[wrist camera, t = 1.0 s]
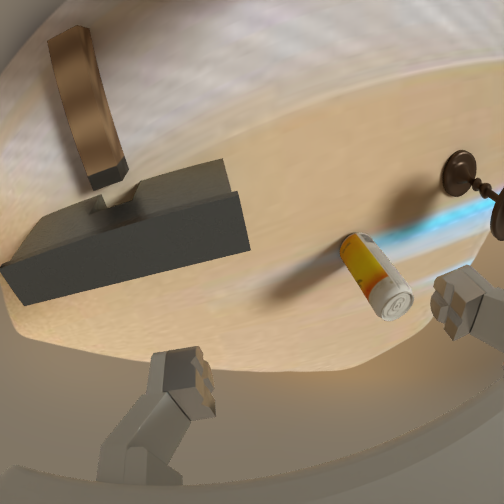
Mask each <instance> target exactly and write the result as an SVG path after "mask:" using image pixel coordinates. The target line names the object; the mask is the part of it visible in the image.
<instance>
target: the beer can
mask: <svg viewBox="0 0 504 504" xmlns="http://www.w3.org/2000/svg"><path fill="white" fill-rule="evenodd" d="M340 257H341V259H342V260H343V262H344V263H345V265H346V266H347V268H348V270H349V271H350V273H351V274H352V276H353V277H354V279H355V281H356V282H357V284H358V285H359V287H360V288H361V290H362V292H363V293H364V295H365V297H366V298H367V300H368V301H369V303H370V305H371V306H372V308H373V310H374V311H375V313H376V315H377V316H379V317H381V318H382V319H383V320H385V321H393V320H396V319H398V318H400V317H401V316H403V315H404V314H405V313H406V312H407V311H408V310H409V309H410V308H411V306H412V304H413V301H414V296H413V293H412V289H411V287H410V286H409V284H408V283H407V282H406V281H405V279H404V278H403V277H402V275H401V274H400V273H399V272H398V270H397V269H396V268H395V267H394V265H393V264H392V263H391V262H390V260H389V259H388V258H387V257H386V255H385V254H384V253H383V252H382V250H381V249H380V248H379V247H378V246H377V244H376V243H375V242H374V241H373V240H372V238H371V237H370V236H369V235H368V234H366V233H353V234H351V235H349V236H348V237H347V238H346V239H345V240H344V241H343V243H342V245H341V248H340Z"/></svg>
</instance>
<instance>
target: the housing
mask: <svg viewBox="0 0 504 504" xmlns="http://www.w3.org/2000/svg"><path fill="white" fill-rule="evenodd" d="M250 250H251V248H250V244H249V240H248V235H247V231H246V226H245V222H244V217H243V213H242V208H241V204H240V199H239V195H238V192H237V191H234V192H231V188H230V184H229V180H228V177H227V173H226V169H225V165H224V161H223V158H222V159H218V160H214V161H210V162H206V163H202V164H199V165H195V166H191V167H187V168H184V169H180V170H176V171H173V172H169V173H166V174H162V175H159V176H156V177H152V178H149V179H146V180H143V181H141V182H140V184H139V186H138V188H137V191H136V193H135V195H134V197H133V200H132V201H129V202H126V203H123V204H120V205H117V206H113V207H110V208H107V207H106V204H105V202H104V199H103V197H102V195H98V196H95V197H92V198H90V199H87V200H84V201H81V202H79V203H76V204H74V205H71V206H68V207H66V208H63V209H61V210H58V211H56V212H53V213H51V214H49V215H46V216H44V217H42V218H41V219H40V221H39V222H38V223H37V224H36V226H35V227H34V228H33V230H32V231H31V232H30V234H29V235H28V236H27V238H26V239H25V240H24V242H23V243H22V245H21V246H20V247H19V249H18V250H17V252H16V253H15V255H14V256H13V257H12V259H11V260H10V261H9V262H6V263H4V264H2V265H1V267H0V272H1V274H2V275H3V277H4V278H5V280H6V281H7V283H8V284H9V286H10V287H11V289H12V290H13V291H14V293H15V294H16V296H17V297H18V298H19V300H20V301H21V302H22V304H23V305H24V306H27V305H31V304H35V303H39V302H43V301H47V300H51V299H55V298H59V297H63V296H67V295H71V294H75V293H79V292H83V291H87V290H92V289H96V288H100V287H104V286H108V285H112V284H116V283H120V282H124V281H128V280H132V279H136V278H140V277H144V276H148V275H152V274H156V273H160V272H165V271H169V270H173V269H177V268H181V267H185V266H189V265H193V264H197V263H201V262H205V261H209V260H213V259H218V258H222V257H226V256H230V255H234V254H238V253H242V252H246V251H250Z"/></svg>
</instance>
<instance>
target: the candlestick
mask: <svg viewBox="0 0 504 504" xmlns="http://www.w3.org/2000/svg"><path fill="white" fill-rule="evenodd" d="M475 176H476V161H475V158H474V156H473V155H472V154H471V153H469V152H467V151H465V150H459V151H457V152H455V153H454V154H453V155H452V156H451V157H450V158H449V159H448V161H447V163H446V165H445V168H444V171H443V186H444V188H445V190H446V191H447V192H448V193H449V194H450V195H452V196H454V197H459V196H461V195H463V194H465V193H466V192H467V191H468V190H469V189H470V187H471V186H472V189H473V190H474V191H479V192H480V195H481V196H482V198H484V199H486V198H488V197H489V198H491V199H492V200H493V201H495V202H496V203H495V205H494V208H493V211H492V215H491V221H490V229H491V233H492V234H493V236H494V237H496V238H497V239H498V240H500V241H504V188H503V189H502V191H501V192H500V194H499V195H498V194H496V193H495V192H494V191H492V187H491V185H490V184H489V183H482V182H481V179H479V178H476V179H475Z"/></svg>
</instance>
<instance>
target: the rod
mask: <svg viewBox="0 0 504 504" xmlns="http://www.w3.org/2000/svg"><path fill="white" fill-rule="evenodd" d="M47 43H48V48H49V52H50V57H51V61H52V65H53V70H54V74H55V78H56V81H57V85H58V89H59V93H60V96H61V100H62V103H63V106H64V110H65V113H66V116H67V119H68V123H69V126H70V129H71V132H72V135H73V138H74V141H75V143H76V146H77V149H78V152H79V155H80V157H81V160H82V163H83V165H84V168H85V171H86V173H87V176H88V178H89V181H90V183H91V186H92V188H93V191H94V190H97V189H100V188H103V187H105V186H108V185H111V184H114V183H117V182H120V181H122V180H123V179H124V177H125V175H126V174H127V172H128V170H129V168H128V165H127V162H126V159H125V156H124V153H123V150H122V147H121V144H120V141H119V138H118V135H117V132H116V129H115V126H114V122H113V119H112V116H111V112H110V109H109V106H108V102H107V99H106V95H105V92H104V88H103V84H102V81H101V77H100V73H99V69H98V65H97V61H96V57H95V53H94V49H93V44H92V40H91V35H90V30H89V28H85V27H82V26H78V25H76V26H74V27H72V28H70V29H68V30H66V31H65V32H63V33H61V34H59V35H57V36H55V37H53V38H52V39H50V40H48V41H47Z"/></svg>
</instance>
